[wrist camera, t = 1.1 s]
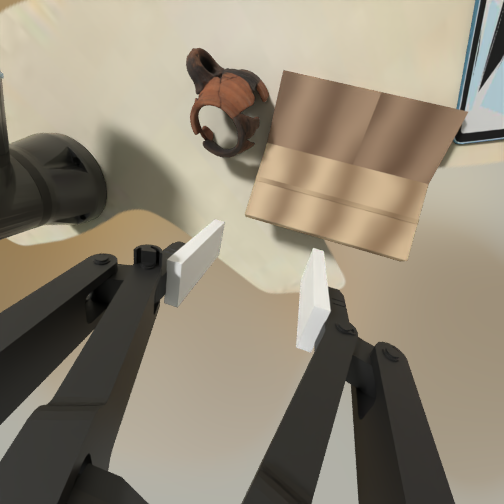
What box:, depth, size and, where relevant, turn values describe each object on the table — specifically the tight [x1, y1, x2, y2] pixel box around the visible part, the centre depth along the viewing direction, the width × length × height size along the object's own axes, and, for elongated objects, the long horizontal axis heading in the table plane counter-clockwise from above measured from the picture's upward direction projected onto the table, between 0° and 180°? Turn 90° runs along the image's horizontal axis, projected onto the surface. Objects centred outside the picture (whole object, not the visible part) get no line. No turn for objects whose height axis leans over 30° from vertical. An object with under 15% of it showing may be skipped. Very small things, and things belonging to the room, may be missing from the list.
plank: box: [245, 143, 428, 261], centre depth 32 cm, size 21×10×2 cm, turn 77°
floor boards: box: [267, 70, 468, 184], centre depth 30 cm, size 21×8×2 cm, turn 77°
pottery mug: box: [186, 48, 269, 157], centre depth 31 cm, size 12×10×8 cm
